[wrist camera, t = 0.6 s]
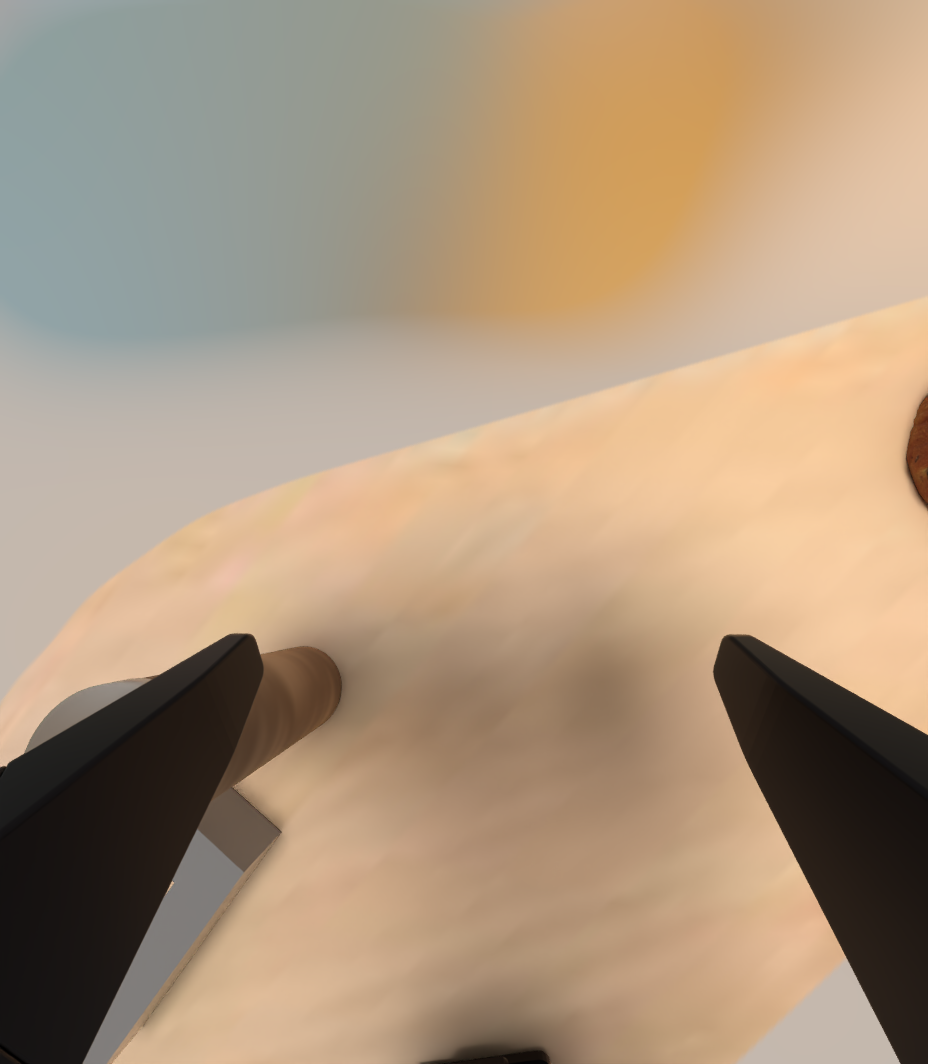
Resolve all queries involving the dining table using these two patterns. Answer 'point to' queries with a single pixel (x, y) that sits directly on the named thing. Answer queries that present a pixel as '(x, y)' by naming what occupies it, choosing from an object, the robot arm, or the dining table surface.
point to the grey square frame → (186, 914)
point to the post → (274, 720)
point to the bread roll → (919, 450)
